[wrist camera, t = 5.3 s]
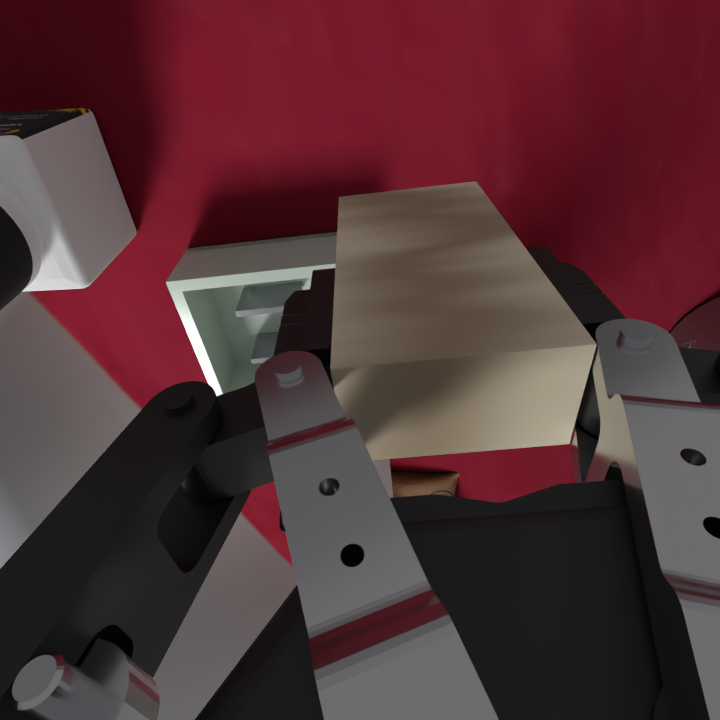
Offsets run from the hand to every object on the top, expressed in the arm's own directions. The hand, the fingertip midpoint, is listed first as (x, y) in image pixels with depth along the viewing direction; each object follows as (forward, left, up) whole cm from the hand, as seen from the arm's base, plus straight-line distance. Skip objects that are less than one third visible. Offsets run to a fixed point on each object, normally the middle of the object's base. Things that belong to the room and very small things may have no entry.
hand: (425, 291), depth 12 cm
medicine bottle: (+19, 0, -17) cm, 26 cm away
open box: (+8, +10, -17) cm, 21 cm away
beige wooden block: (0, 0, -5) cm, 5 cm away
